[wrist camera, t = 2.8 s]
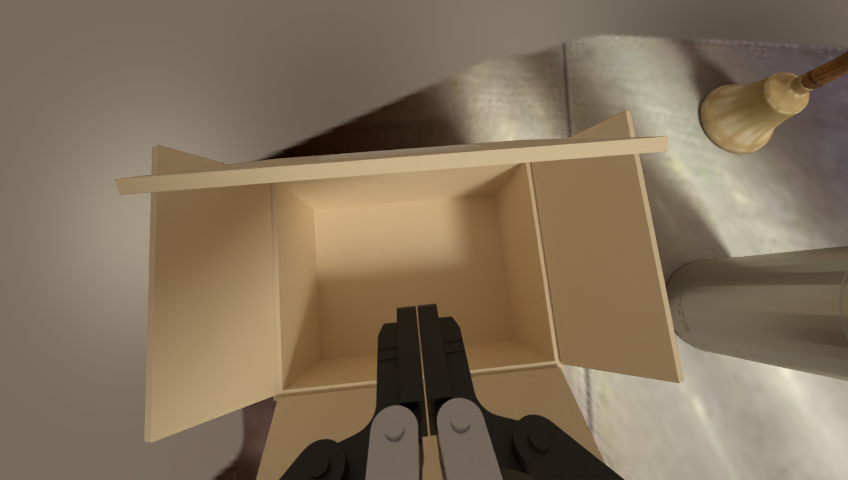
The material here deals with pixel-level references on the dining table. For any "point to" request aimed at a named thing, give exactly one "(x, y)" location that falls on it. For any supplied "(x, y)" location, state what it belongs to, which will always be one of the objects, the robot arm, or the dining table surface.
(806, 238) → the dining table surface
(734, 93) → the hand bell
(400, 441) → the robot arm
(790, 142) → the dining table surface
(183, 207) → the carton
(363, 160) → the front flap
